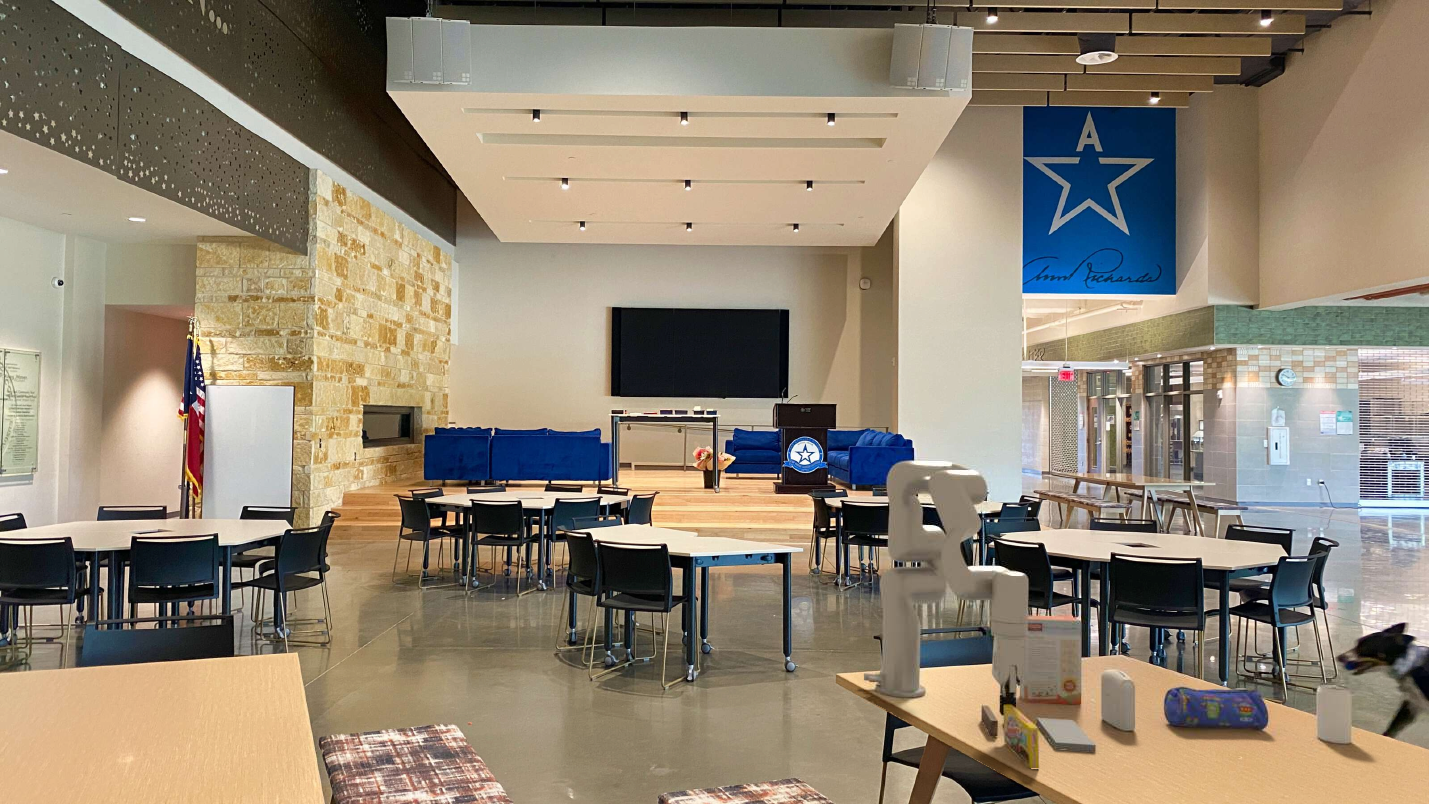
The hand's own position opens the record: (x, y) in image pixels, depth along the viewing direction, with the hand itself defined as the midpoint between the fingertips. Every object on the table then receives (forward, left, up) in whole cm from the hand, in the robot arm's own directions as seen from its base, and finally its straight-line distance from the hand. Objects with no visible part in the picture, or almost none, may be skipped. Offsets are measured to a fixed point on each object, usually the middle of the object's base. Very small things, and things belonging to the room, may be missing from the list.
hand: (1007, 714), depth 198 cm
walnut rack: (0, +8, -6) cm, 10 cm away
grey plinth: (+13, +5, -6) cm, 15 cm away
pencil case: (+51, +21, -6) cm, 55 cm away
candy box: (+1, -10, -6) cm, 12 cm away
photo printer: (+28, +18, -6) cm, 34 cm away
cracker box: (+17, +36, -6) cm, 40 cm away
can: (+74, +17, -6) cm, 76 cm away
